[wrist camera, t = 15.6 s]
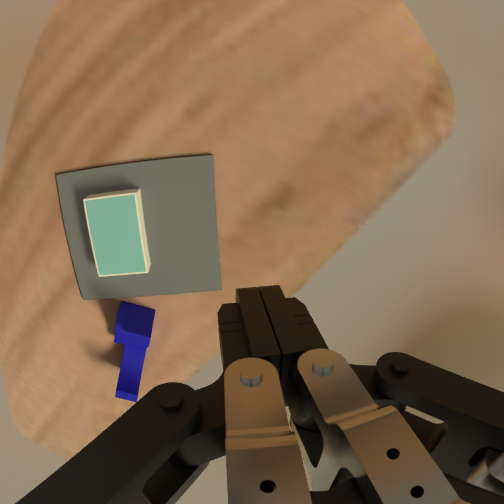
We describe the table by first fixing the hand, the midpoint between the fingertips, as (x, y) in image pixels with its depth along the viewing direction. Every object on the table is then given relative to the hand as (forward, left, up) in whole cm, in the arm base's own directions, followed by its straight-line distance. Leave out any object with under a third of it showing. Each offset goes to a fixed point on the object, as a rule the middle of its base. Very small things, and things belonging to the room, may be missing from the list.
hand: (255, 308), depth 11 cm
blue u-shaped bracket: (+20, -13, -25) cm, 35 cm away
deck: (+4, -8, -23) cm, 25 cm away
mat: (+5, -9, -25) cm, 27 cm away
